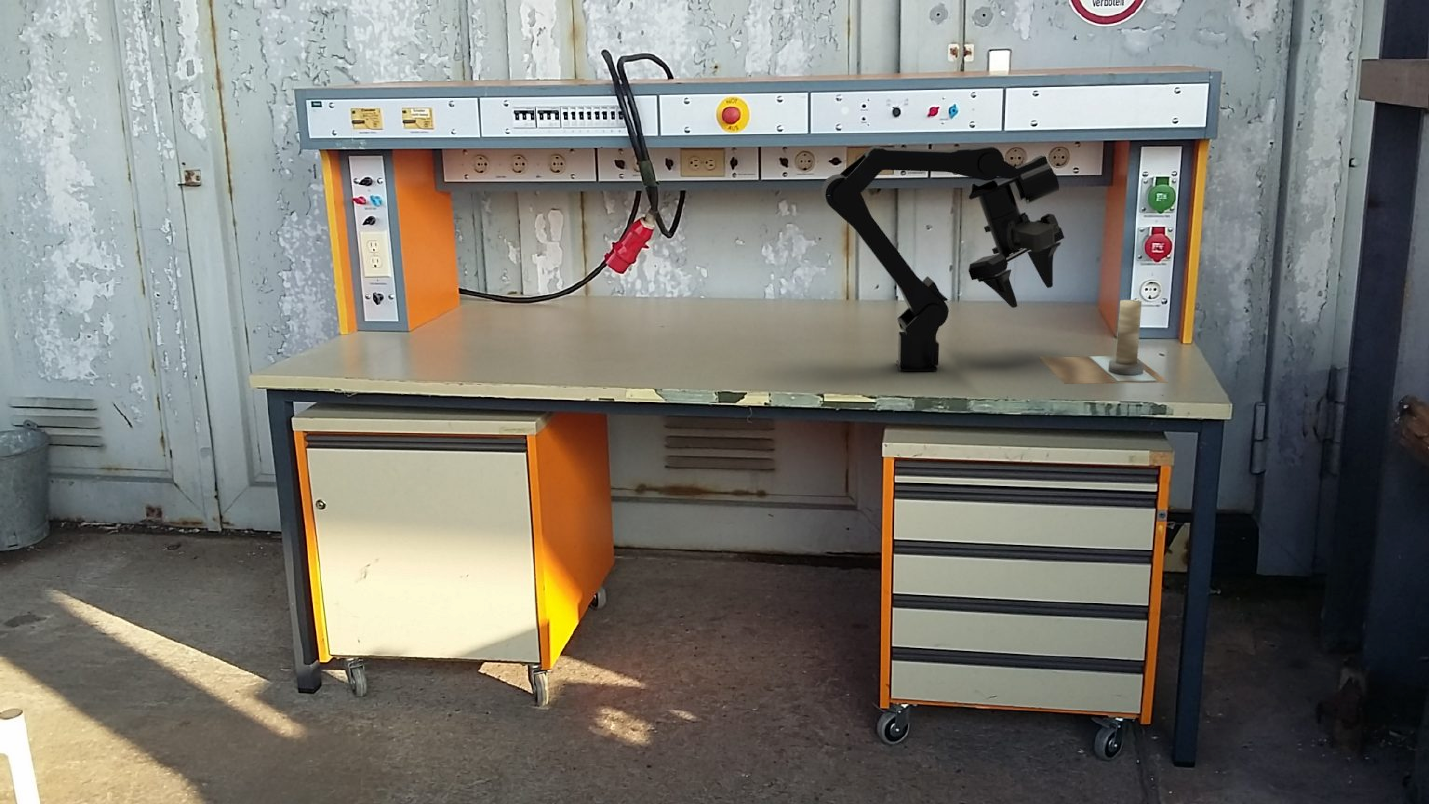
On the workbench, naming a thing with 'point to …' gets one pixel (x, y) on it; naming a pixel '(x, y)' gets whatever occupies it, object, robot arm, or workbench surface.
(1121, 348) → the post
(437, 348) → the workbench surface
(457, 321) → the workbench surface
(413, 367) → the workbench surface
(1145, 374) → the board
